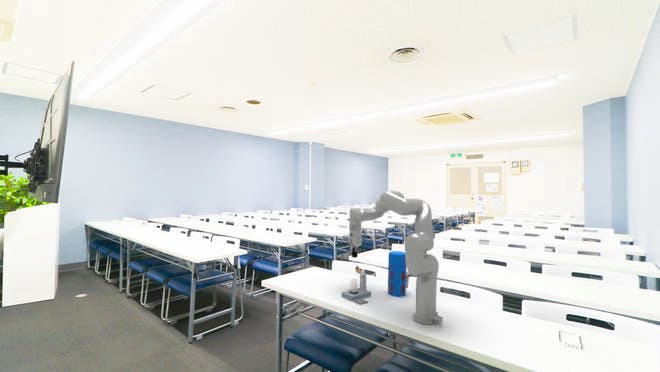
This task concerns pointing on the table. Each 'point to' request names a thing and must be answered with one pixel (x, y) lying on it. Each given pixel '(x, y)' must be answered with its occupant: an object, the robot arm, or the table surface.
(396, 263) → the thermos
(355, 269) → the clip
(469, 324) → the table surface
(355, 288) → the plug
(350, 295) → the outlet block
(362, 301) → the pad
